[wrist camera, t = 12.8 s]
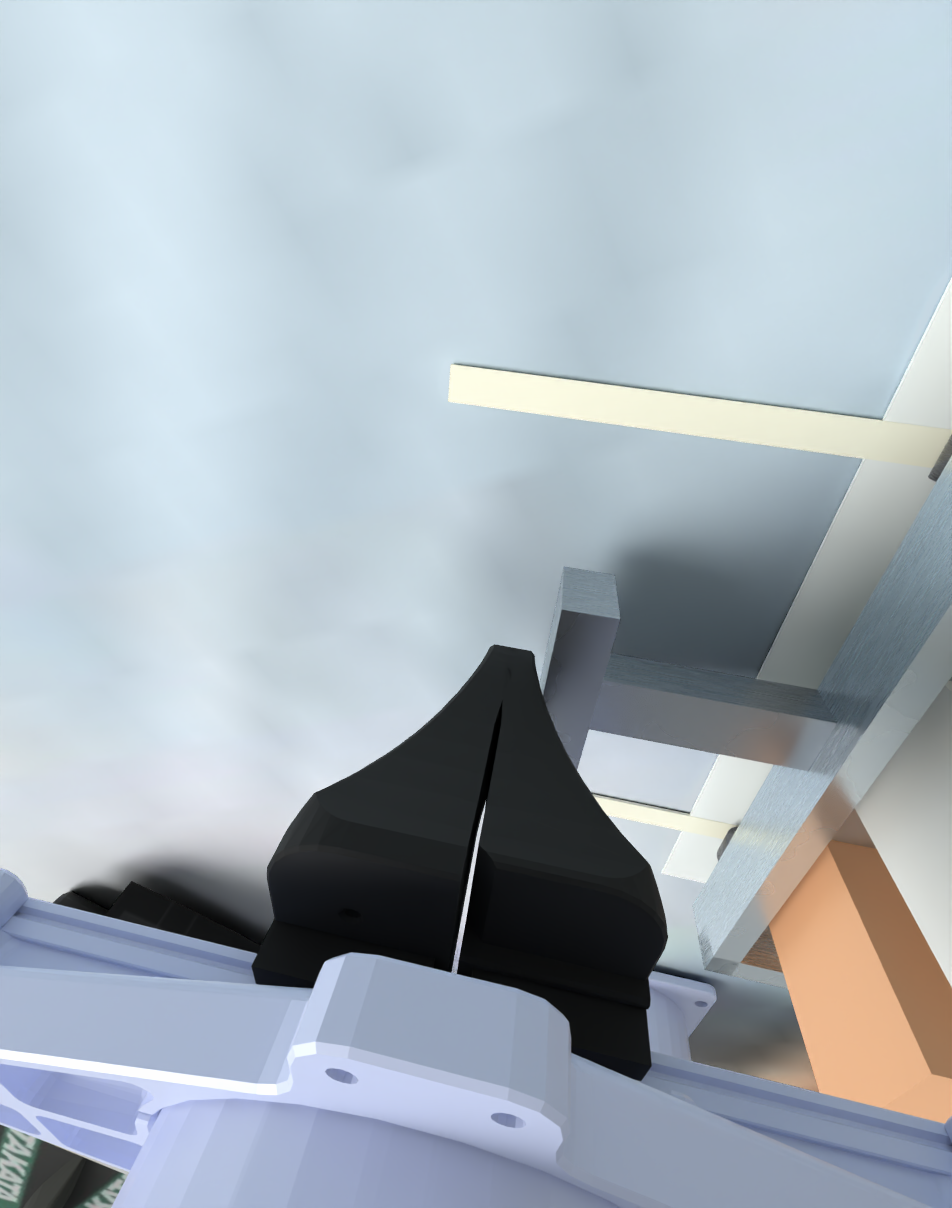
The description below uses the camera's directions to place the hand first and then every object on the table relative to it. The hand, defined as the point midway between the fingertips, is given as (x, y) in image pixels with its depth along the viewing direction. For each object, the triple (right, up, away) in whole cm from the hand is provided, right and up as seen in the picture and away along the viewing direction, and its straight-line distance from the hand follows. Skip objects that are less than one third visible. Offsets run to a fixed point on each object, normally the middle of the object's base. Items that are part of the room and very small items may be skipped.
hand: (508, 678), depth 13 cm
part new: (+10, -6, +2) cm, 12 cm away
